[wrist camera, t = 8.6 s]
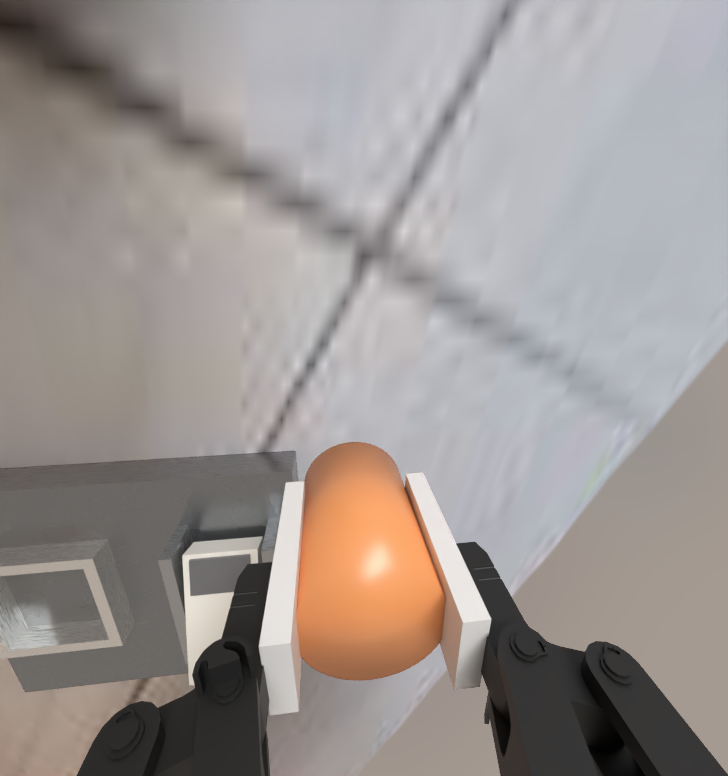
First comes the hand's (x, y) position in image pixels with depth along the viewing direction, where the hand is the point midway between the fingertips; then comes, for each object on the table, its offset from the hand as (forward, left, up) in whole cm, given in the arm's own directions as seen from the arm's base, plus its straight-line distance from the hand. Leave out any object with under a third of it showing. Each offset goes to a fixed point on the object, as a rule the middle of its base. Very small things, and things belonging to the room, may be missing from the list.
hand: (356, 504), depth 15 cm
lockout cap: (0, 0, -2) cm, 2 cm away
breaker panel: (+14, -16, -13) cm, 25 cm away
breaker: (+13, -9, -7) cm, 17 cm away
